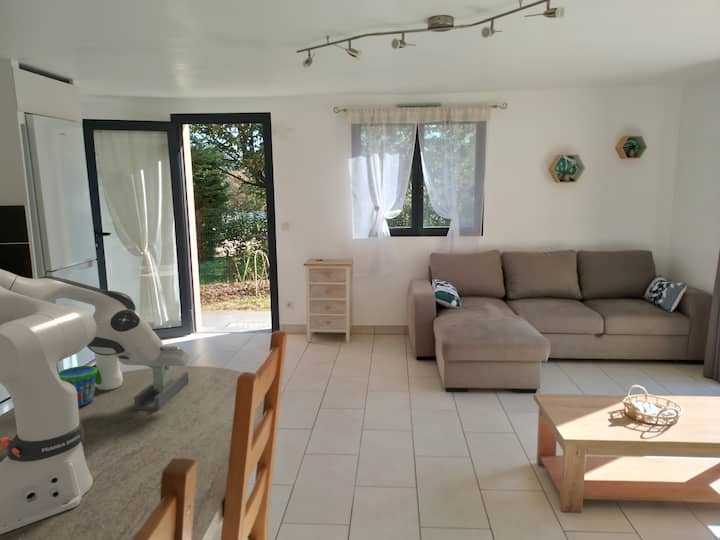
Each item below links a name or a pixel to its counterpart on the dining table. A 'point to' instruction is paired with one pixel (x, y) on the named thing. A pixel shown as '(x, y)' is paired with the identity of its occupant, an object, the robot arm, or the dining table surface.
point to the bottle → (108, 372)
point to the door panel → (161, 377)
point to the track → (159, 394)
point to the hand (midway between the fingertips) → (162, 367)
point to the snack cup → (82, 381)
